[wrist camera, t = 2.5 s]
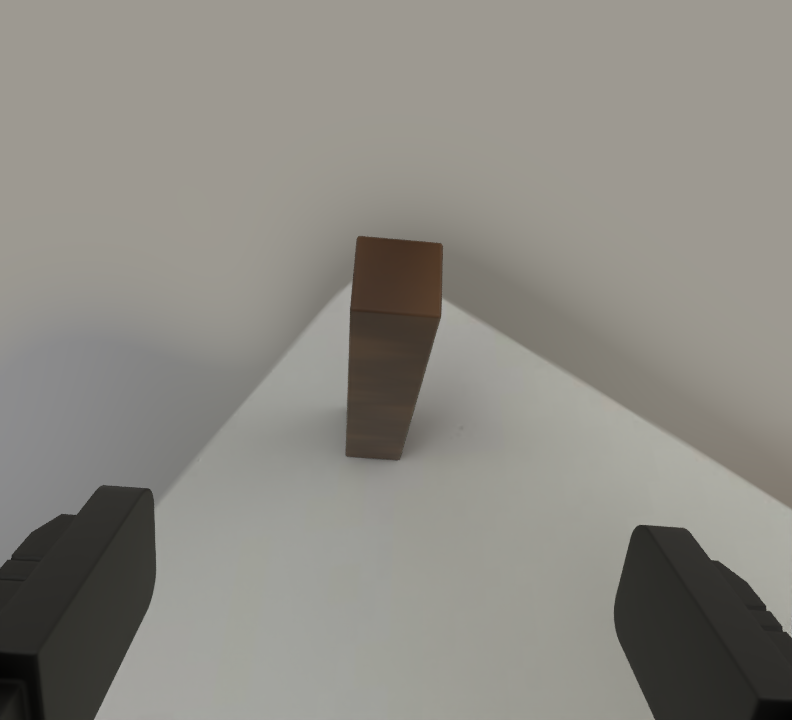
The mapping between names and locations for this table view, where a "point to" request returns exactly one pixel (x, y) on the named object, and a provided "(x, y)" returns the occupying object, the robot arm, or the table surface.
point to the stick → (389, 340)
